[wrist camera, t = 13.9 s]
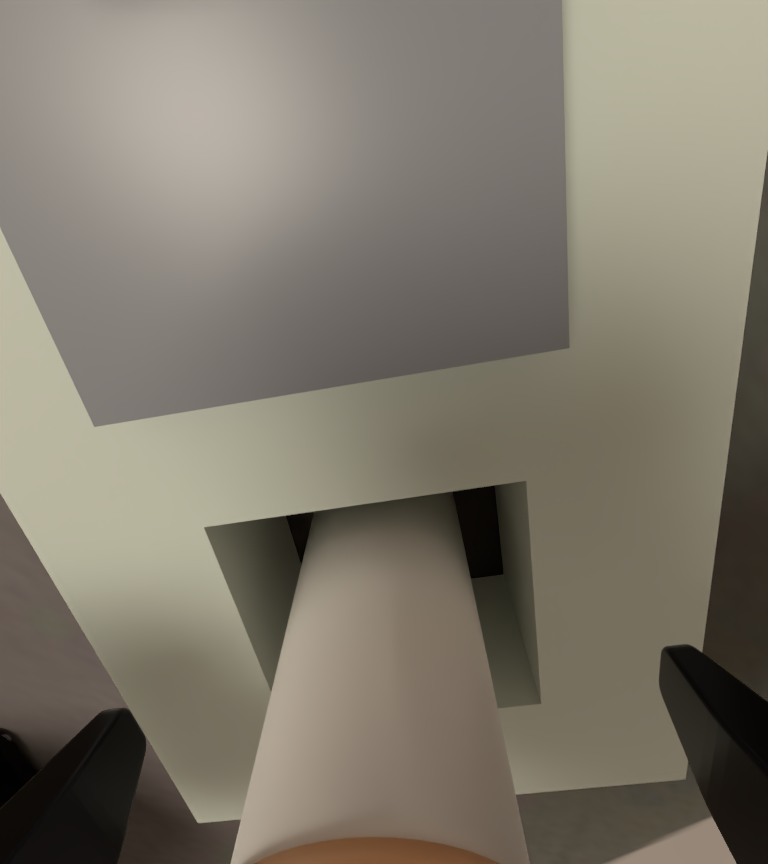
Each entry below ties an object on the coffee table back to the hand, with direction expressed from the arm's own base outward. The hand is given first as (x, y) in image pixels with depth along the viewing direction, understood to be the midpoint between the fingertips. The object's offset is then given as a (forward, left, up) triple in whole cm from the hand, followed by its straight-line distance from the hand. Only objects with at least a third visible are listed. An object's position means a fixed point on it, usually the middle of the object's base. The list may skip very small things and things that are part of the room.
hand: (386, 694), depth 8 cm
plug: (0, 0, -6) cm, 6 cm away
